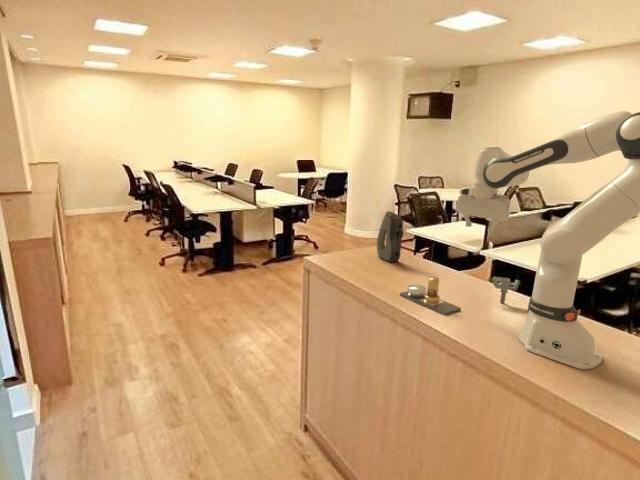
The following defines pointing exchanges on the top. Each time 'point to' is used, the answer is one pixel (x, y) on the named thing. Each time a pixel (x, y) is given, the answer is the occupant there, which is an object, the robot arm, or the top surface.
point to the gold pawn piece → (432, 291)
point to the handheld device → (390, 237)
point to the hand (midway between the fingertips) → (479, 228)
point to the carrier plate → (417, 296)
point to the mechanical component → (504, 286)
